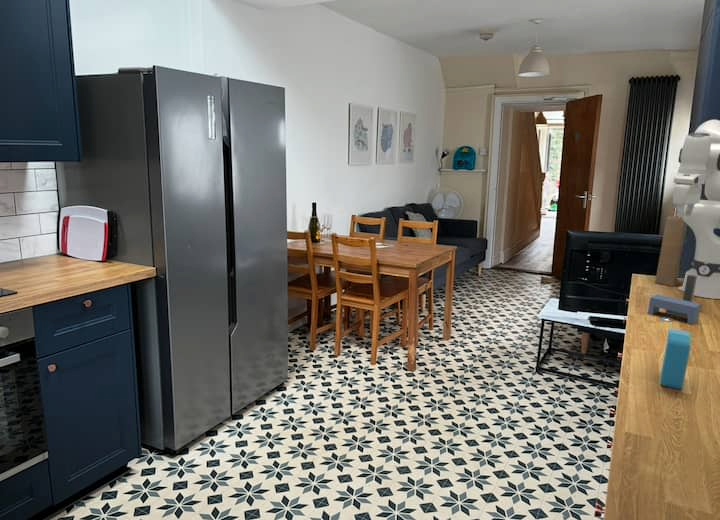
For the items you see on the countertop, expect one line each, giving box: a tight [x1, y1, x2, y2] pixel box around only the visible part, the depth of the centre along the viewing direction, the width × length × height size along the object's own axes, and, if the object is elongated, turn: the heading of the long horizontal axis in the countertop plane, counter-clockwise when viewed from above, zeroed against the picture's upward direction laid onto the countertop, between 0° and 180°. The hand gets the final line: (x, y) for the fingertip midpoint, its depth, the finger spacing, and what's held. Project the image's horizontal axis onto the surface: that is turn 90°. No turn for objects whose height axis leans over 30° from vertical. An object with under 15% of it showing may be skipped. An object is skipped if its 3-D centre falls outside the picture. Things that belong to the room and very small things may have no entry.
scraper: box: [665, 275, 697, 319], centre depth 190 cm, size 12×7×13 cm, turn 133°
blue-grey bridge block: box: [647, 294, 702, 325], centre depth 183 cm, size 7×14×6 cm, turn 43°
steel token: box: [659, 316, 674, 323], centre depth 180 cm, size 4×4×1 cm
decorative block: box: [654, 215, 688, 287], centre depth 234 cm, size 8×15×30 cm, turn 144°
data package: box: [660, 328, 692, 390], centre depth 129 cm, size 12×4×12 cm, turn 149°
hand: (684, 216), depth 193 cm, fingers open, 8 cm apart
